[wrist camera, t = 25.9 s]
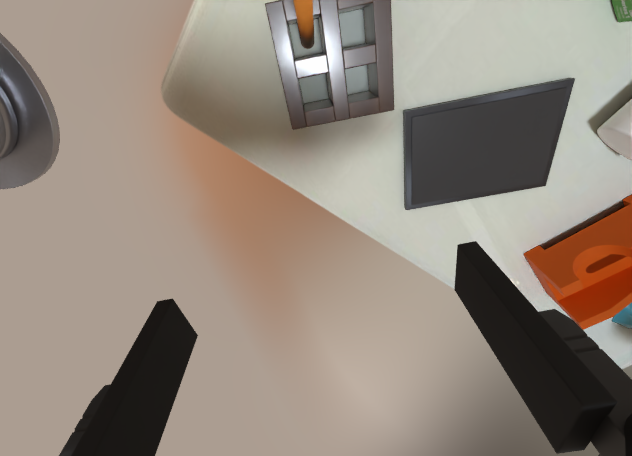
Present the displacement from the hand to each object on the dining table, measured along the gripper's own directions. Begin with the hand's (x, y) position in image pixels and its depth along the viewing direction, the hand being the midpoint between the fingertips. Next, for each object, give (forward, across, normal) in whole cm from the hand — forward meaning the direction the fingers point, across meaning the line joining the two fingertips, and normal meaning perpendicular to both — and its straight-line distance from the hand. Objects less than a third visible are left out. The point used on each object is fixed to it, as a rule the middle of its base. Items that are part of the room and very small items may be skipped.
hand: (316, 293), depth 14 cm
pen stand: (+28, +5, +8) cm, 29 cm away
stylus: (+28, +2, +10) cm, 30 cm away
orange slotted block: (+28, +42, -29) cm, 58 cm away
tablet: (+28, +22, -7) cm, 36 cm away
